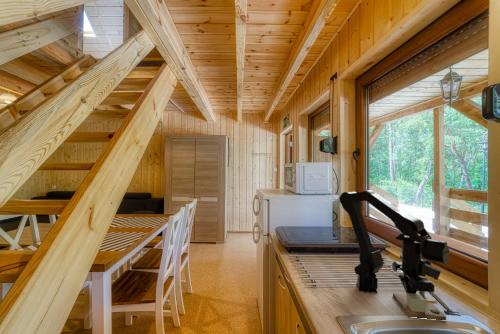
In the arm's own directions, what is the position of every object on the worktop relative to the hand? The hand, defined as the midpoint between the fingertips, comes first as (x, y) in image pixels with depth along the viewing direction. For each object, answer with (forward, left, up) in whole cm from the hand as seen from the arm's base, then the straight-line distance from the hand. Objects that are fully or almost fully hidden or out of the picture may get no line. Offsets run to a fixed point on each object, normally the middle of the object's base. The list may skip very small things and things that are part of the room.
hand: (410, 299), depth 91 cm
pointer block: (+2, -4, -1) cm, 5 cm away
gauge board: (+2, 0, -3) cm, 3 cm away
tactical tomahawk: (+13, +8, -3) cm, 16 cm away
